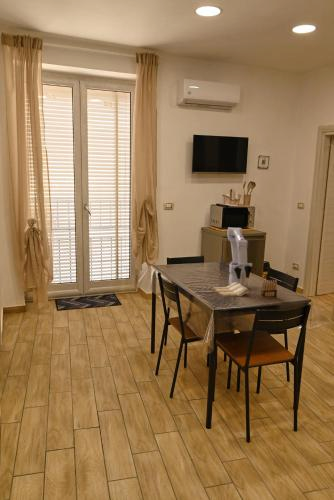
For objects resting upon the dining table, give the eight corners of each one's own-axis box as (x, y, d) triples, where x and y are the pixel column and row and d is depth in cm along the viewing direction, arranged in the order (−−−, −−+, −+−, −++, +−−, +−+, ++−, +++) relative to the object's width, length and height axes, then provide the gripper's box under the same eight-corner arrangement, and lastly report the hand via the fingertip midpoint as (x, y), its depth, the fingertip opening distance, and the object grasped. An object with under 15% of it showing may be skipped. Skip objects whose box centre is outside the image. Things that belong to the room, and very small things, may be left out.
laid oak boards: (212, 290, 271) (213, 287, 271) (225, 289, 274) (225, 286, 273) (223, 298, 254) (223, 295, 254) (236, 297, 257) (237, 294, 256)
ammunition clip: (274, 296, 263) (276, 278, 261) (276, 297, 262) (278, 279, 259) (260, 297, 260) (262, 279, 258) (262, 298, 258) (263, 280, 256)
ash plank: (227, 289, 274) (226, 287, 273) (237, 283, 275) (235, 281, 275) (238, 297, 257) (237, 294, 256) (249, 291, 258) (247, 288, 258)
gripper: (230, 258, 269) (230, 278, 266) (246, 255, 258) (247, 276, 255) (237, 259, 273) (238, 279, 271) (254, 257, 262) (254, 277, 259)
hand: (243, 278), depth 263 cm, fingers open, 7 cm apart
